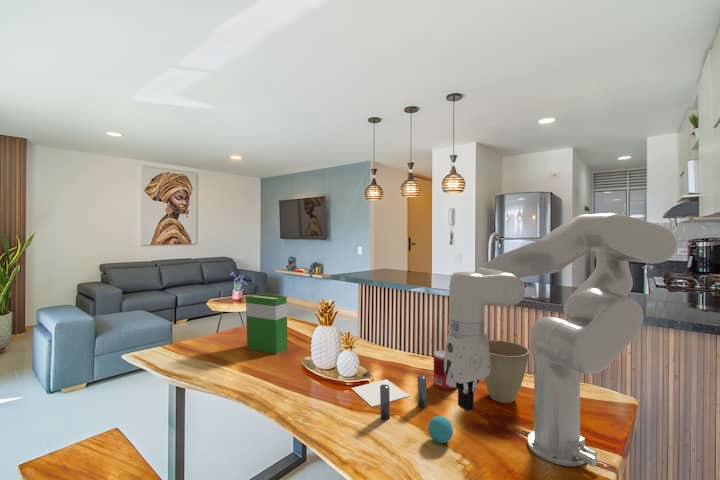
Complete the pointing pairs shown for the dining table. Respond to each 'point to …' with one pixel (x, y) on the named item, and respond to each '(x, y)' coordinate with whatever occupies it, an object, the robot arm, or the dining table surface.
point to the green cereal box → (267, 323)
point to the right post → (422, 392)
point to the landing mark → (378, 392)
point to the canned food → (440, 371)
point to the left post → (384, 402)
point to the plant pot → (506, 370)
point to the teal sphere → (440, 429)
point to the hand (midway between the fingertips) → (465, 407)
